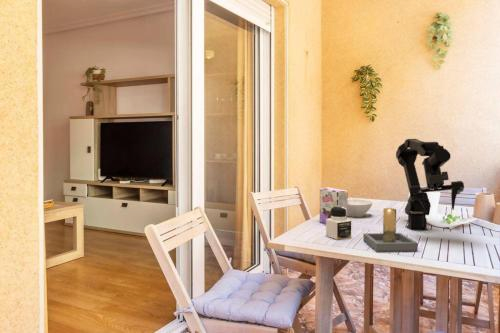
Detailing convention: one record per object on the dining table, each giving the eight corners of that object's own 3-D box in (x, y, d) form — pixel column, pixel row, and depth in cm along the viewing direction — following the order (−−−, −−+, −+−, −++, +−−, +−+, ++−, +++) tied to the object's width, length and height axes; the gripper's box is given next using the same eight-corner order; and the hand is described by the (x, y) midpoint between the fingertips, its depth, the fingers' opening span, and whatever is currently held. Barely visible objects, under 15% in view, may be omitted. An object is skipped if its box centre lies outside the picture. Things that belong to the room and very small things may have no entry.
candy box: (319, 222, 183) (319, 187, 182) (329, 221, 185) (329, 186, 184) (336, 228, 170) (337, 191, 169) (347, 227, 173) (348, 190, 171)
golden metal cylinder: (381, 244, 142) (381, 209, 141) (385, 242, 145) (385, 207, 144) (393, 246, 139) (393, 210, 138) (397, 244, 142) (398, 209, 141)
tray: (376, 252, 135) (376, 243, 134) (363, 241, 149) (363, 233, 149) (417, 251, 135) (417, 243, 135) (400, 240, 149) (400, 232, 149)
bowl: (376, 218, 189) (376, 204, 188) (343, 219, 189) (343, 204, 189) (367, 212, 205) (367, 199, 204) (336, 212, 205) (336, 199, 205)
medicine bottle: (337, 240, 151) (337, 209, 150) (325, 236, 157) (325, 206, 156) (351, 237, 154) (351, 207, 153) (339, 234, 160) (339, 205, 160)
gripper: (406, 168, 148) (412, 207, 142) (461, 161, 141) (469, 202, 136) (407, 177, 158) (413, 214, 152) (458, 171, 151) (466, 210, 145)
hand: (439, 210), depth 146 cm, fingers open, 9 cm apart
